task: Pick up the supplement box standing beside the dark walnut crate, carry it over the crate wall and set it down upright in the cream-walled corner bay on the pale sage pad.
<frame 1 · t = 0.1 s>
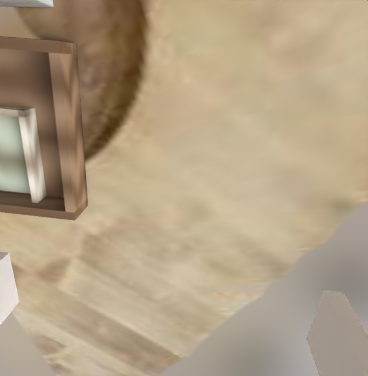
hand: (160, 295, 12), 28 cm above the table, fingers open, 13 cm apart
crate: (12, 127, 39), on the table
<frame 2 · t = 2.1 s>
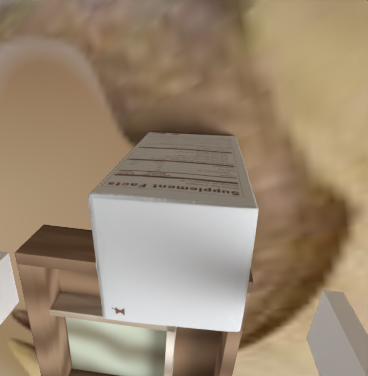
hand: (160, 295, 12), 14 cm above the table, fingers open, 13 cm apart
crate: (142, 317, 32), on the table
supplement box: (190, 172, 25), on the table
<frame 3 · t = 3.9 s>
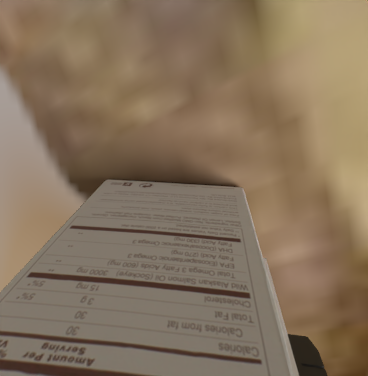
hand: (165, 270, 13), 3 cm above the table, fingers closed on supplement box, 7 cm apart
supplement box: (173, 236, 16), on the table, touching gripper
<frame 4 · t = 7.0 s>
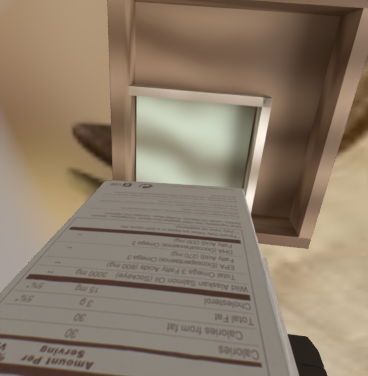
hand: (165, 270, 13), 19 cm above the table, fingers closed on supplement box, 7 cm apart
crate: (221, 122, 29), on the table
supplement box: (173, 237, 16), point 16 cm above the table, touching gripper
when the fingers open (6 cm above the table, at t = 10.1 s): supplement box drops 2 cm, resting on crate.
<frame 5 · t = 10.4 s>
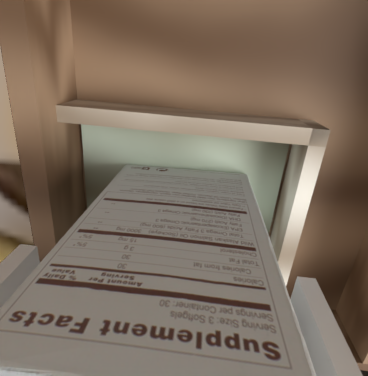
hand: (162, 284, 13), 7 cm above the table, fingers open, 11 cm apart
crate: (229, 163, 17), on the table
supplement box: (183, 218, 18), point 1 cm above the table, touching crate
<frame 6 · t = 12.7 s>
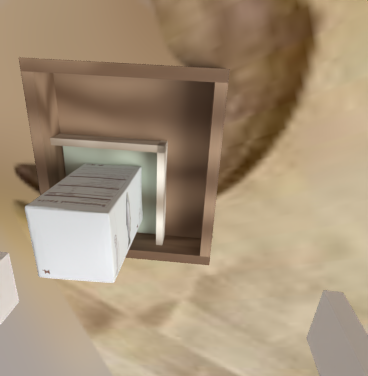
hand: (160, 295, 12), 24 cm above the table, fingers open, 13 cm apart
crate: (135, 161, 35), on the table
supplement box: (115, 189, 36), point 1 cm above the table, touching crate
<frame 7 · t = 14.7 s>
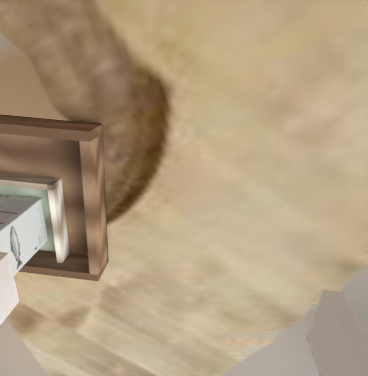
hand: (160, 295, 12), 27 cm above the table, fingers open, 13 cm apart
crate: (38, 193, 42), on the table
supplement box: (24, 215, 43), point 1 cm above the table, touching crate
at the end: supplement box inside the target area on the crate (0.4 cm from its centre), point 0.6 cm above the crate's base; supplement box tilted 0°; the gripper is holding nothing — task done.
